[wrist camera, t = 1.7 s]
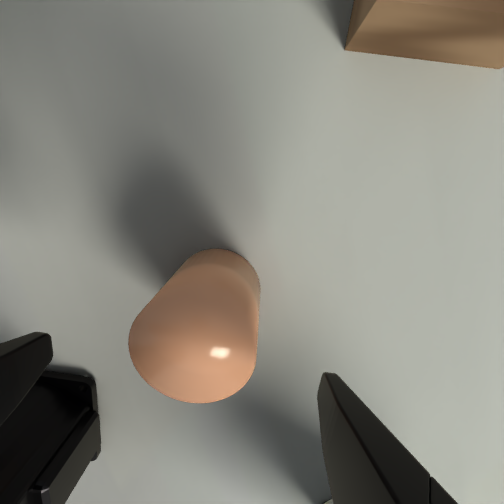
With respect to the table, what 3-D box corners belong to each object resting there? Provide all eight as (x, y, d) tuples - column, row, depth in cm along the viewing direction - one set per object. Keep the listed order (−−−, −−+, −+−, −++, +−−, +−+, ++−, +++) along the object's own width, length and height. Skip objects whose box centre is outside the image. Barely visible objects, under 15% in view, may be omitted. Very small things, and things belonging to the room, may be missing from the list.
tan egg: (175, 319, 14) (129, 393, 10) (177, 242, 13) (126, 285, 8) (254, 330, 14) (248, 411, 10) (265, 254, 13) (265, 304, 8)
